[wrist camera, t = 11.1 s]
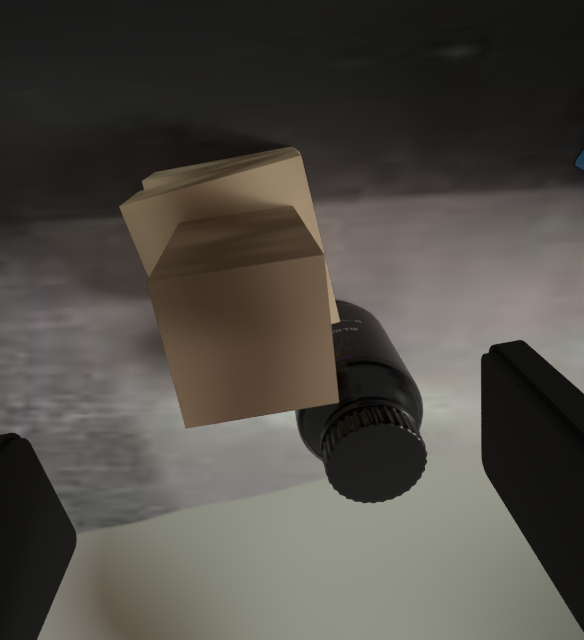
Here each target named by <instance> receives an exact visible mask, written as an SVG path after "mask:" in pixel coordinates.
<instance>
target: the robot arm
mask: <svg viewBox="0 0 584 640" xmlns="http://www.w3.org/2000/svg"><path fill="white" fill-rule="evenodd" d="M481 448H482V463H483V467H484V470H485V472H486V475H487V476H488V478H489V480H490V481H491V483H492V485H493V486H494V488H495V489H496V491H497V493H498V494H499V496H500V498H501V499H502V501H503V502H504V504H505V506H506V507H507V509H508V511H509V512H510V514H511V515H512V517H513V519H514V520H515V522H516V523H517V525H518V527H519V528H520V530H521V532H522V533H523V535H524V536H525V538H526V540H527V541H528V543H529V545H530V546H531V548H532V549H533V551H534V553H535V554H536V556H537V558H538V559H539V561H540V562H541V564H542V566H543V567H544V569H545V571H546V572H547V574H548V575H549V577H550V578H551V580H552V582H553V583H554V585H555V587H556V588H557V590H558V591H559V593H560V595H561V596H562V598H563V599H564V601H565V603H566V605H567V606H568V608H569V609H570V611H571V613H572V614H573V616H574V618H575V619H576V621H577V622H578V624H579V626H580V627H581V629H582V630H583V632H584V394H583V393H582V392H581V391H580V390H579V389H578V388H577V387H575V386H574V385H573V384H572V383H571V382H570V381H569V380H567V379H566V378H565V377H564V376H563V375H562V374H561V373H560V372H558V371H557V370H556V369H555V368H554V367H553V366H552V365H550V364H549V363H548V362H547V361H546V360H545V359H544V358H543V357H541V356H540V355H539V354H538V353H537V352H536V351H535V350H533V349H532V348H531V347H530V346H529V345H528V344H527V343H526V342H524V341H522V340H517V341H512V342H506V343H501V344H496V345H492V346H491V347H490V349H489V353H486V354H483V355H482V358H481ZM75 547H76V532H75V529H74V527H73V525H72V523H71V521H70V519H69V517H68V516H67V514H66V512H65V510H64V508H63V506H62V504H61V502H60V500H59V498H58V496H57V494H56V492H55V490H54V488H53V486H52V485H51V483H50V481H49V479H48V477H47V475H46V473H45V471H44V469H43V467H42V465H41V463H40V461H39V459H38V457H37V455H36V454H35V452H34V450H33V448H32V446H31V444H30V442H29V441H28V440H27V439H25V438H21V437H20V436H19V435H18V434H16V433H8V434H2V435H0V640H37V638H38V636H39V633H40V631H41V629H42V626H43V624H44V621H45V619H46V617H47V614H48V612H49V610H50V607H51V605H52V603H53V600H54V598H55V595H56V593H57V591H58V588H59V586H60V584H61V581H62V579H63V576H64V574H65V572H66V569H67V567H68V565H69V562H70V560H71V557H72V555H73V552H74V550H75Z"/></svg>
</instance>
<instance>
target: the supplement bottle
mask: <svg viewBox="0 0 584 640" xmlns="http://www.w3.org/2000/svg"><path fill="white" fill-rule="evenodd" d="M336 306H337V311H338V315H339V319H340V322H337V323H334V324H331V327H332V336H333V346H334V356H335V366H336V376H337V386H338V396H339V403H334V404H328V405H322V406H316V407H310V408H304V409H299V410H295V414H296V421H297V426H298V430H299V434H300V436H301V439H302V441H303V442H304V444H305V446H306V447H307V448H308V450H309V451H310V452H311V453H312V454H313V455H315V456H316V457H317V458H318V459H320V460H321V461H323V463H324V467H325V472H326V475H327V476H328V480H329V483H331V484H332V485H333V488H334V489H335V490H337V491H338V492H339V494H340V495H343V496H345V497H346V498H347V499H352V500H353V501H355V502H363V503H368V502H370V503H376V502H384V501H386V500H391V499H394V498H395V497H397V496H401V495H402V494H403V493H404V492H406V491H409V490H410V488H411V487H412V486H414V485H415V484H416V482H417V480H419V479H420V478H421V475H422V473H423V472H424V470H425V465H426V463H427V460H426V457H427V451H426V449H425V443H424V441H423V439H422V437H421V435H420V432H419V429H420V426H421V423H422V418H423V402H422V397H421V394H420V392H419V389H418V387H417V385H416V383H415V381H414V380H413V378H412V376H411V375H410V373H409V371H408V369H407V368H406V366H405V364H404V363H403V361H402V359H401V358H400V356H399V354H398V352H397V351H396V349H395V347H394V346H393V344H392V342H391V341H390V339H389V337H388V335H387V334H386V332H385V330H384V329H383V327H382V326H381V324H380V323H379V321H378V320H377V319H376V318H375V317H374V316H373V315H372V314H371V313H370V312H368V311H367V310H365V309H363V308H361V307H359V306H356V305H352V304H347V303H336Z"/></svg>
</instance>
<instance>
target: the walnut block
mask: <svg viewBox="0 0 584 640" xmlns="http://www.w3.org/2000/svg"><path fill="white" fill-rule="evenodd" d="M147 286H148V290H149V293H150V297H151V301H152V304H153V308H154V312H155V316H156V319H157V323H158V327H159V331H160V334H161V338H162V342H163V346H164V349H165V353H166V357H167V361H168V364H169V368H170V372H171V375H172V379H173V383H174V387H175V390H176V394H177V398H178V402H179V405H180V409H181V413H182V417H183V420H184V424H185V428H192V427H198V426H204V425H210V424H216V423H222V422H228V421H234V420H239V419H245V418H251V417H257V416H263V415H269V414H275V413H281V412H287V411H293V410H299V409H304V408H310V407H316V406H322V405H328V404H334V403H339V396H338V386H337V376H336V366H335V356H334V346H333V336H332V327H331V317H330V307H329V297H328V287H327V277H326V267H325V257H324V253H323V252H322V250H321V249H320V247H319V246H318V244H317V242H316V241H315V239H314V238H313V236H312V235H311V233H310V232H309V230H308V228H307V227H306V225H305V224H304V222H303V221H302V219H301V217H300V216H299V214H298V213H297V211H296V210H295V208H294V207H293V206H289V207H282V208H275V209H268V210H262V211H255V212H248V213H241V214H235V215H228V216H221V217H214V218H208V219H201V220H194V221H187V222H180V223H179V224H178V226H177V227H176V229H175V231H174V233H173V235H172V236H171V238H170V240H169V242H168V244H167V246H166V247H165V249H164V251H163V253H162V255H161V256H160V258H159V260H158V262H157V264H156V266H155V267H154V269H153V271H152V273H151V275H150V276H149V278H148V280H147Z"/></svg>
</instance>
